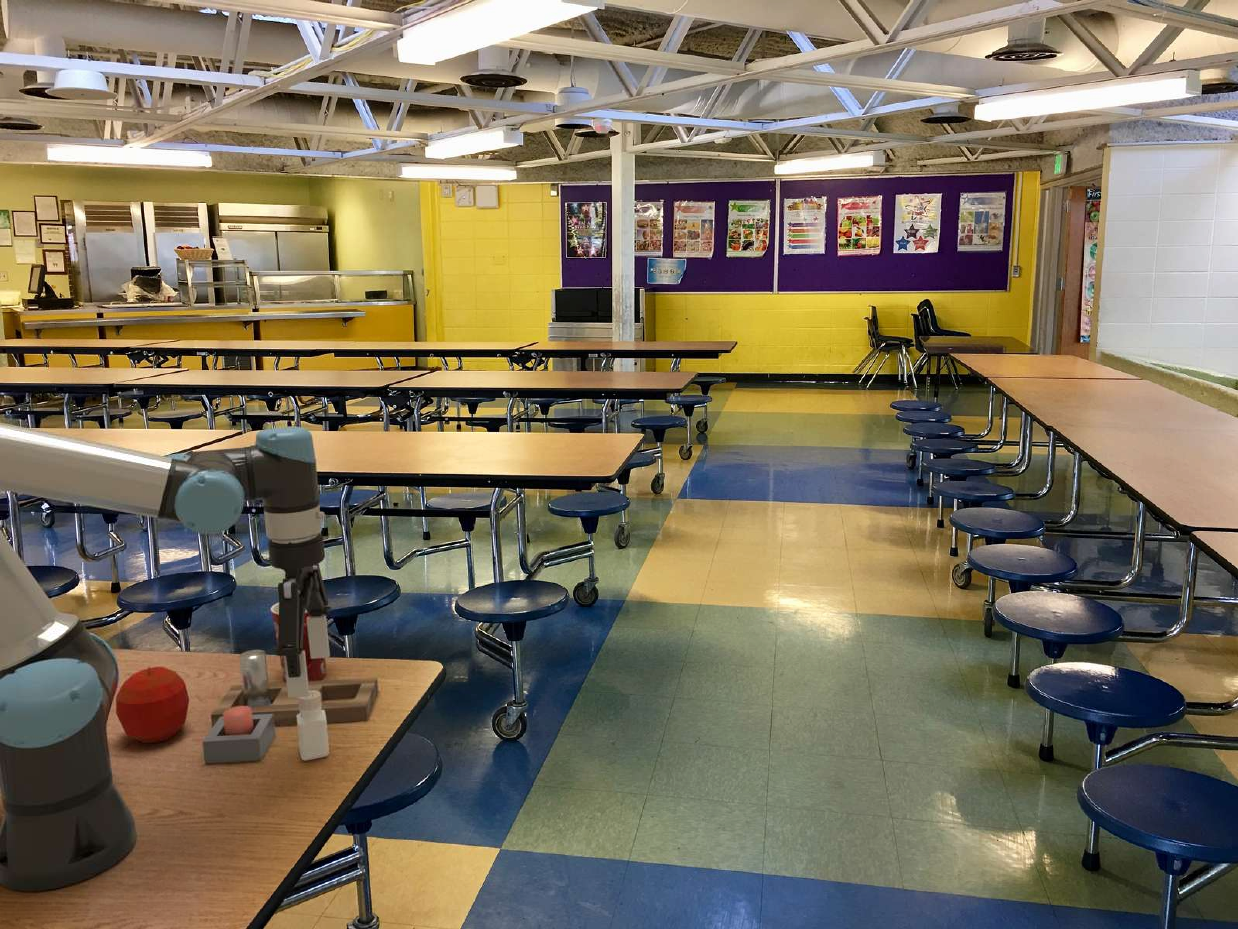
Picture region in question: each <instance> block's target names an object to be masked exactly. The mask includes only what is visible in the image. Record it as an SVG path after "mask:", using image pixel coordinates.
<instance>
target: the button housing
mask: <svg viewBox="0 0 1238 929" xmlns="http://www.w3.org/2000/svg"><path fill="white" fill-rule="evenodd" d="M252 718H253V727H254V731H253V732H252V734H246V735H229V736H225V728H224V719H223V717H220V718H219V719H218V721H217V722H216V723H215V725H214V726H213V728H212V727H211V729H210V730H209V732H208V733H207V735H206V736H205V737H204V739H203V740H202V747H203V750H202V751H203V758H204V764H205V765H206V764H221V763H222V764H223V763H238V762H239V763H240V762H255V761H262V759H263V758H264V756H265V754H266V753H267V750H268V749H269V747H270V746H271V744H272V742H273V740H274V738H275V736H276V726H275V724H274V714H260V715H252Z"/></svg>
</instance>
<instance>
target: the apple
mask: <svg viewBox="0 0 1238 929" xmlns="http://www.w3.org/2000/svg"><path fill="white" fill-rule="evenodd" d="M189 703H190V698H189V694H188V689H187V686H186V682H185V681H184V679H183V678H182V677H181V676H180V675H179V674H178V673H177V672H176V671H175V670H172V669H169V668H167V667H164V666H154V667H151V666H148V668H144V669H141V670H139V671H137V672H135V673H133V674H131V676H130V677H128V678H127V679H126V680H124V682H123V684H122V685H121V687H120V689H119V690H118V692H117V694H116V695H115V714H116V716H117V718H118V721H119V723H120V725H121V726H122V728H123V731H124V733H125V735H126V736H128V737H131V738H133V739H136V740H138V741H141V742H142V743H147V744H148V743H149V744H150V743H157V742H158V743H159V742H161V741H166V740H168V739H170V738H172V737H173V736H174V735H175V734H176V733H177V732H178V731H179V730H180V729H181V728H182V727H183V726H184V725H185V724H186V720H187V718H188V716H187V715H188V710H189Z"/></svg>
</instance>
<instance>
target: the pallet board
mask: <svg viewBox="0 0 1238 929" xmlns="http://www.w3.org/2000/svg"><path fill="white" fill-rule="evenodd" d="M268 684H269V694H270V704H271V705H269V706H251V709H252V715H260V714H274V724H275V727H278V726H279V727H281V726H295V725H296V726H297V715H298V714H299V713H300V709H299V704H298V697H293V698H288V691H287V682H284V681H283V682H268ZM308 686H309V690H316V691H319V692H320V693H321V702H322V706H321V710H324V711H325V715H326V721H327V724H330V723H331V724H333V723H335V724H336V723H349V722H353V723H354V722H367V721H368V720H369V716H370V714H371V711H372V709H373V707H374V703H375V701H376V698H377V696H378V693H379V684H378V677H361V678H345V679H344V678H342V679H324V680H322V679H320V680H318V681H308ZM342 699H343V700H344V699H354V700H344V701H328V702H327V701H326V700H342ZM324 700H325V702H324ZM237 706H244V699H243V689H242V684H233V685H231V686H230V688H229V689H228V690H227V692H226V693H225V695H224V696H223V697H222V699H221V700H220V701H219V703H218V704H217V706H216V707H214V709H213V711H212V712H211V714H210V719H211V720H210V721H211V729H212V728H213V726H214V725H215V723H216V722H217V721H218V719H219V718H220V717H223V713H224V712H225V711H226V710H228V709H230V708H233V707H237Z"/></svg>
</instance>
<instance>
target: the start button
mask: <svg viewBox="0 0 1238 929" xmlns="http://www.w3.org/2000/svg"><path fill="white" fill-rule="evenodd" d="M223 719H224V728H225V736H229V735H246V734H252V732H253V731H254V727H253V718H252V709H251V707H248V706H244V705H243V706H237V707H233V708H230V709H228V710H226V711H225V712H224V713H223Z"/></svg>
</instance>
